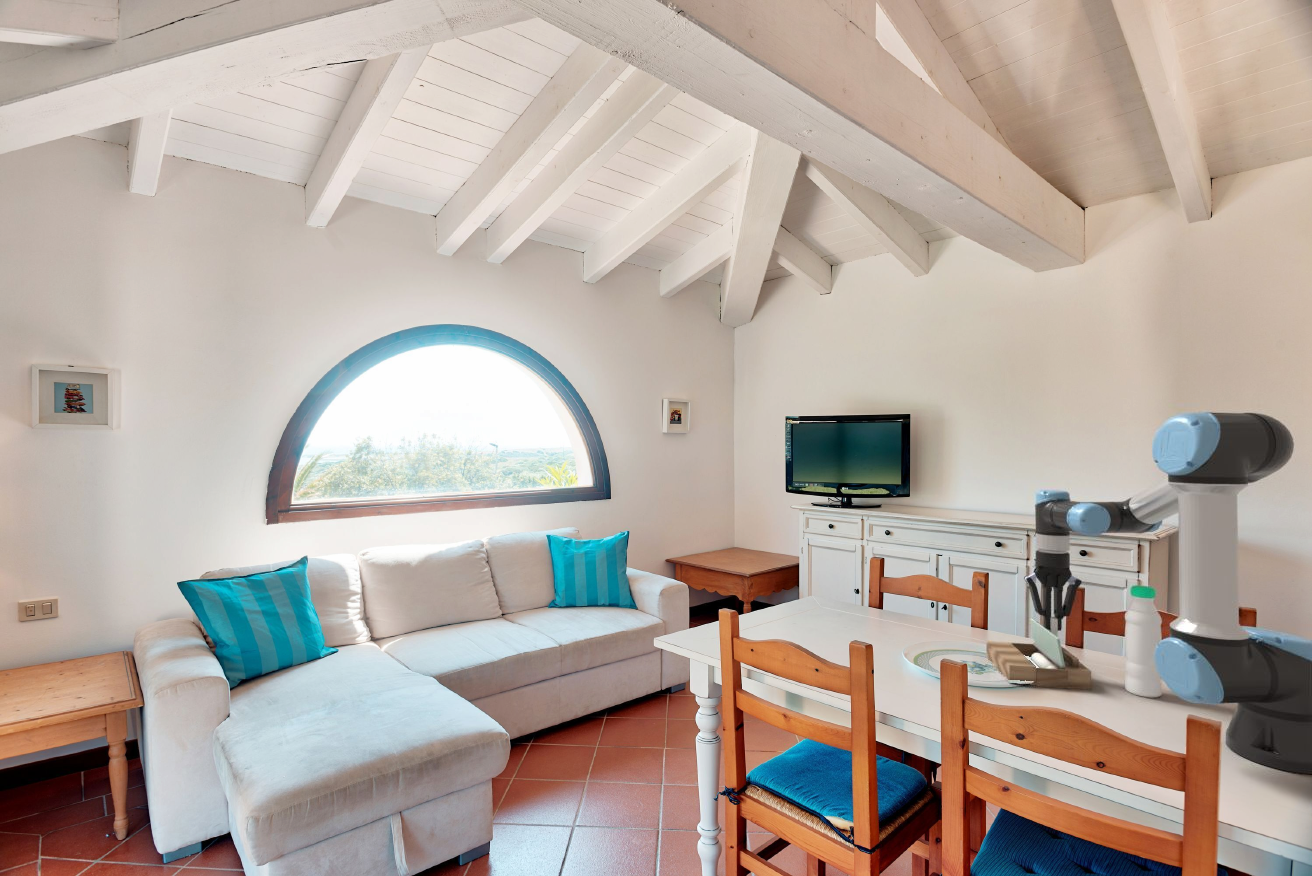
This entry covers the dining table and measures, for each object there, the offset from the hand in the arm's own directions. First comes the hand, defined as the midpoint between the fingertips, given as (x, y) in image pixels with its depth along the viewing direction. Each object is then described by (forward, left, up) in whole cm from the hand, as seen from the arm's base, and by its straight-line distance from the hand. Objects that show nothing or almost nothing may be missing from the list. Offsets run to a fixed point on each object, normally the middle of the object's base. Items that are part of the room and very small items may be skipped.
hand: (1052, 642), depth 170 cm
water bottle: (-10, -16, -8) cm, 21 cm away
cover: (0, +2, 0) cm, 2 cm away
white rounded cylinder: (0, +2, -6) cm, 6 cm away
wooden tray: (0, +4, -8) cm, 9 cm away
